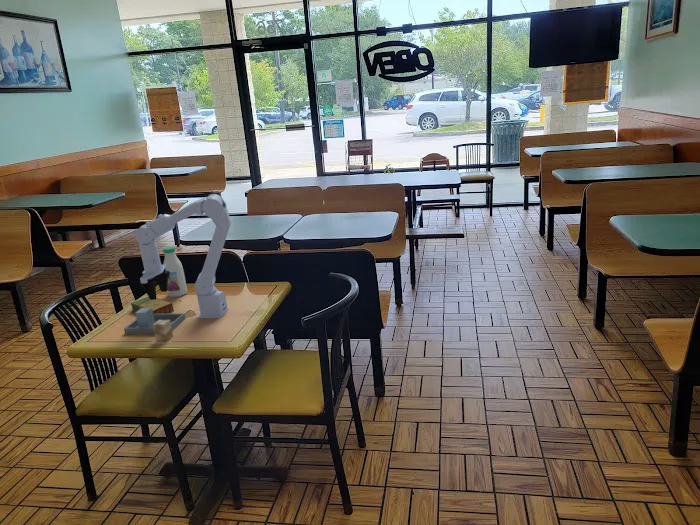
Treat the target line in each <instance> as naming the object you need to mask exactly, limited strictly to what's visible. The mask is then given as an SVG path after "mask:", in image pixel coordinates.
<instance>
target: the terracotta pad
mask: <svg viewBox="0 0 700 525" xmlns="http://www.w3.org/2000/svg"><path fill="white" fill-rule="evenodd" d="M179 336H180V333H173V337H172V338H171V339H170V340H168V341H167V342H156V339H154V340H152V342H150V345H171V343H173V341H175V340H176V339H177V338H178V337H179Z"/></svg>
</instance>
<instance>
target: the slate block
mask: <svg viewBox="0 0 700 525" xmlns="http://www.w3.org/2000/svg"><path fill="white" fill-rule="evenodd" d="M135 317H136V319H137V322H138V327H139V328H150V327H152V326H153V324H154V323H155V321H154V316H153V311H152V308H141V309H140V310H138V311H137V312H135Z"/></svg>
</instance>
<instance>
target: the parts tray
mask: <svg viewBox="0 0 700 525" xmlns="http://www.w3.org/2000/svg"><path fill="white" fill-rule="evenodd" d="M153 316H154V321H155V323H156V322H157V321H158V320H170V323H171V328H172V332H173V331H174V330H175V329H176V328H177V327H179V325H180V324H182V323H183V321H184V320H186V314H185V313H184V312H183V313H181V312H180V313H178V312H177V313H172V312H170V313H168V314H153ZM123 330H124V334H125V335H155V334H154V330H153V326H152V327H150V328H139V327H138V322H137V318H136V319H134V320H133V321H132V322H131V323H129V324H128V325H127V326H125V327H124V328H123Z"/></svg>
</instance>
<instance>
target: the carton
mask: <svg viewBox="0 0 700 525" xmlns="http://www.w3.org/2000/svg"><path fill="white" fill-rule="evenodd" d="M130 305H131V308H132V311H133V312H135V313H136V312H137V311H138V310H140V309H141V308H152V311H153V314H168V313H172V312H174V311H175V310H174V304H173V302H171V301H167V300H163V299H161V298H157V297H156V300H150V298H149V297H148V296H146V297H144V298H141V299H138V300H137V301H133V302H131V303H130Z"/></svg>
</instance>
